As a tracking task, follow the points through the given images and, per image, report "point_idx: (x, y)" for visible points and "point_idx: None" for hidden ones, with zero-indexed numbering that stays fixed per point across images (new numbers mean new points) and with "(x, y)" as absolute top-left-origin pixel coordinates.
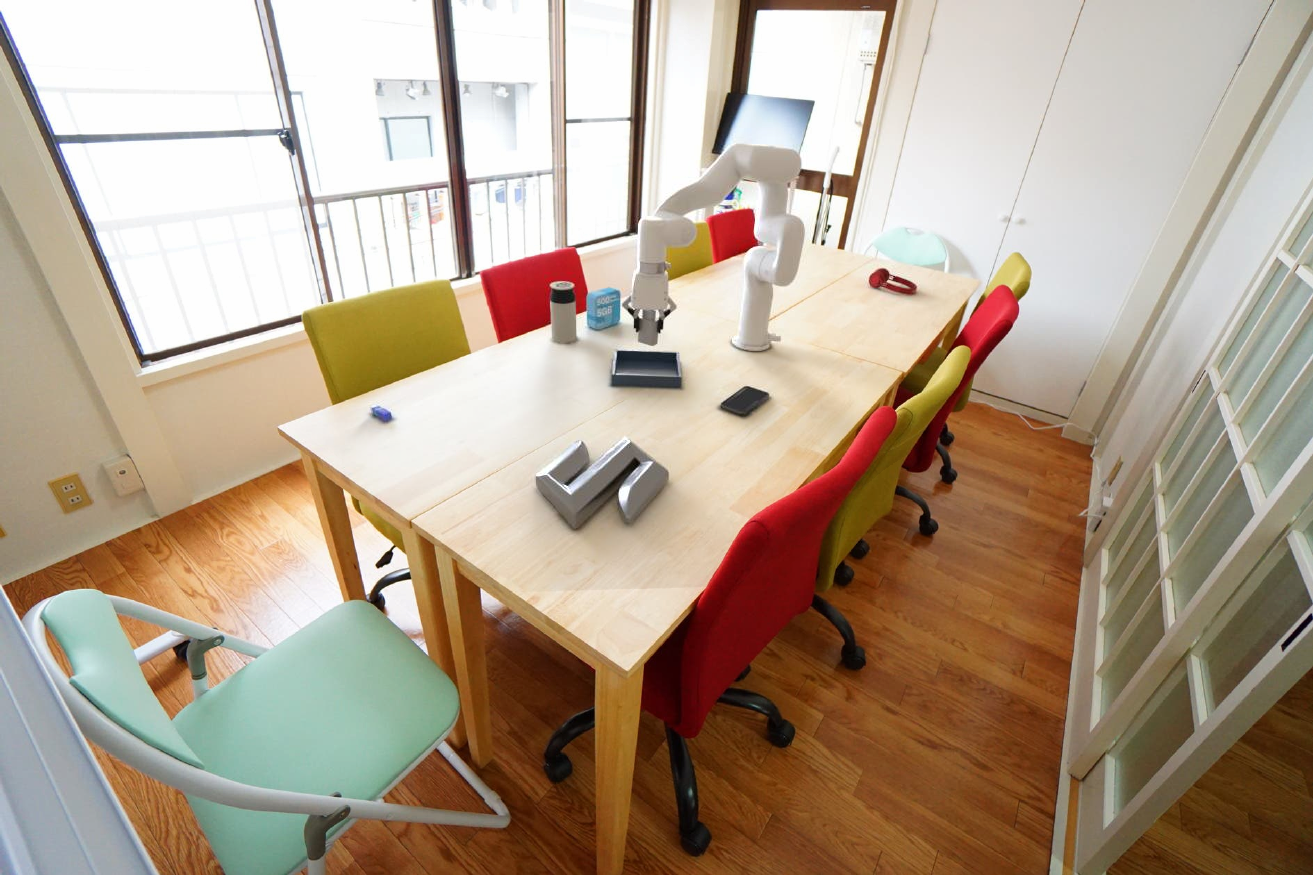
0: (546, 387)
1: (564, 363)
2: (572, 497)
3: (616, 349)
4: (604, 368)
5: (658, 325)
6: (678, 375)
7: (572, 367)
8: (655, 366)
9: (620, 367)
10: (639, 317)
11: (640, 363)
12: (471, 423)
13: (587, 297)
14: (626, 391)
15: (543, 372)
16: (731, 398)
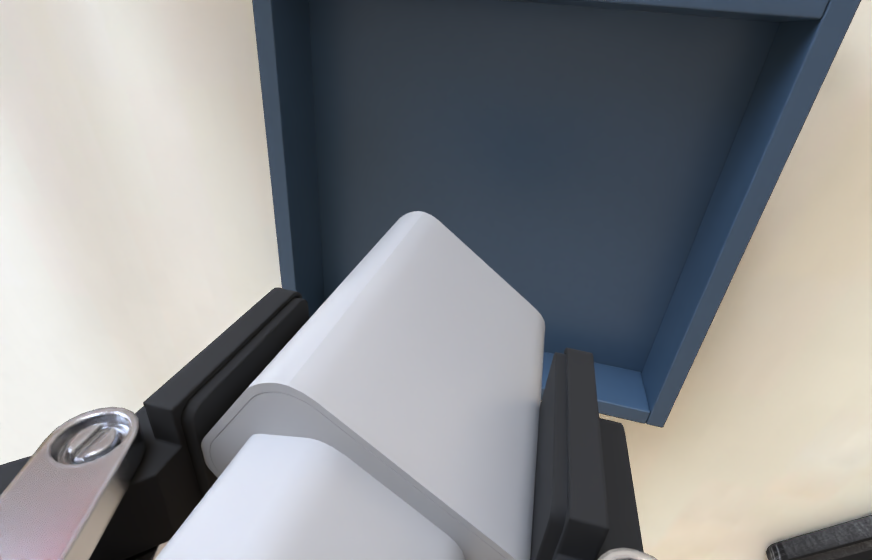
0: (88, 285)
1: (43, 30)
2: None
3: None
4: (257, 107)
5: None
6: (658, 380)
7: (100, 89)
8: (571, 118)
9: (340, 128)
10: (212, 466)
11: (470, 62)
12: (24, 436)
13: None
14: None
15: (12, 147)
16: (869, 545)
